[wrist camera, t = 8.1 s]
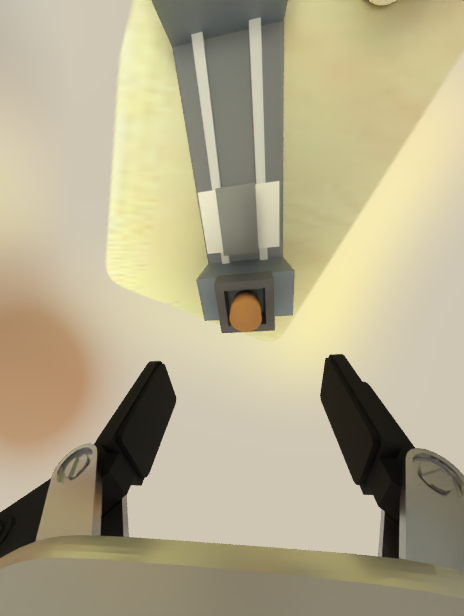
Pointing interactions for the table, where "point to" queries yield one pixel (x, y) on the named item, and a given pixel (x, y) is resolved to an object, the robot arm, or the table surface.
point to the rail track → (234, 131)
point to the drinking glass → (382, 2)
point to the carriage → (240, 218)
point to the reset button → (245, 311)
